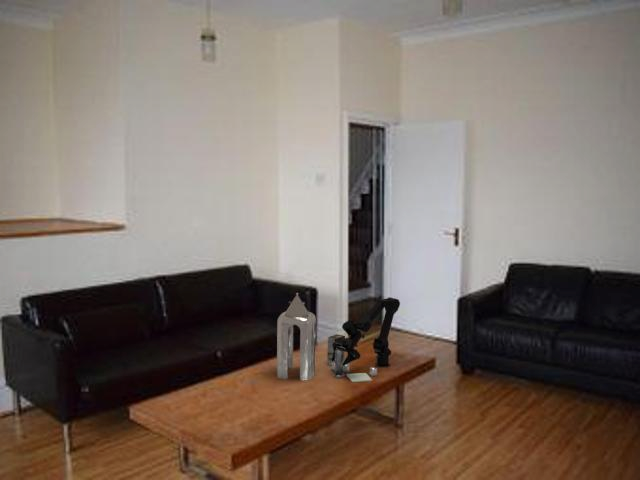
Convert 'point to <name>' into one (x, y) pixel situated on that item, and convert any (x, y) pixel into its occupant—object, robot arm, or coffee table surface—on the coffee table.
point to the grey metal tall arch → (285, 340)
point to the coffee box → (330, 348)
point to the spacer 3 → (373, 371)
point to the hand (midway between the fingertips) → (337, 363)
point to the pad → (359, 377)
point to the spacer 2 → (346, 368)
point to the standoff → (338, 364)
